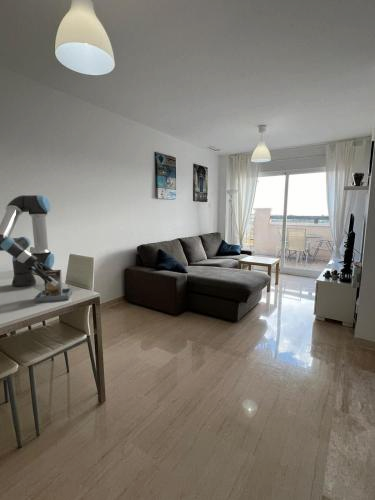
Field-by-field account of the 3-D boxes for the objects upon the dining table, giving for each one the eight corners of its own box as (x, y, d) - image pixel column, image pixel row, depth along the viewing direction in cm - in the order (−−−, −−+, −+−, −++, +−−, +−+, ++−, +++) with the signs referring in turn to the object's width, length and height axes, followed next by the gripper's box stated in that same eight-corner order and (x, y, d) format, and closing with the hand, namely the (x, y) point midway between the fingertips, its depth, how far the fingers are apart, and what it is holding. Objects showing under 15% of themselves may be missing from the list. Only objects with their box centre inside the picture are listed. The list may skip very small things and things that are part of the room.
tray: (41, 295, 165) (41, 290, 164) (72, 292, 170) (71, 288, 169) (34, 303, 150) (34, 298, 149) (68, 300, 155) (68, 295, 154)
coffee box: (45, 298, 155) (42, 272, 153) (47, 295, 161) (44, 270, 159) (61, 297, 158) (59, 271, 156) (63, 294, 164) (61, 269, 162)
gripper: (29, 260, 163) (57, 282, 170) (16, 267, 141) (49, 292, 148) (37, 251, 164) (66, 273, 171) (26, 257, 142) (59, 282, 148)
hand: (58, 282), depth 159 cm, fingers open, 11 cm apart
